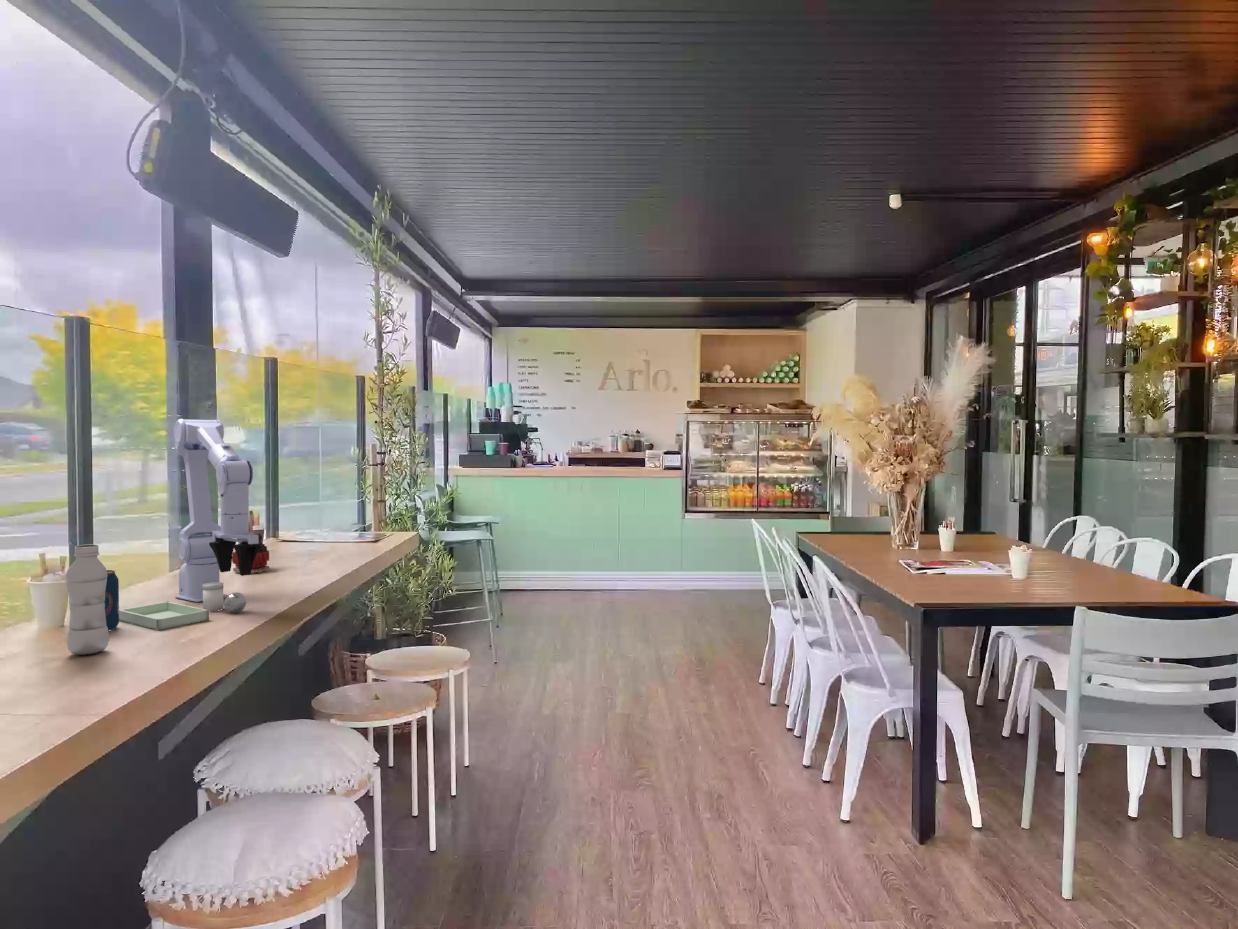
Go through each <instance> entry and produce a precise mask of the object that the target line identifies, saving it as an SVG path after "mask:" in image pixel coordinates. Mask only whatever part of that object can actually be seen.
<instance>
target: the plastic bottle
mask: <svg viewBox="0 0 1238 929" xmlns="http://www.w3.org/2000/svg"><path fill="white" fill-rule="evenodd" d="M99 549H100V548H99V545H98V544H81V545H80V544H79V545H75V546H74V553H73V557H74V558H75V560H74V561H73V562H72V563H71V564H70V566H69V568H68V569H67V571H66V573H65V577H64V578H65V583H66V588H67V593H68V598H69V599H68V603H69V604H68V605H70V606H69V623H68V624H69V625H68V631H67V636H66V646H67V650H68V652H70V653H71V654H73V655H82V656H83V655H85V656H87V655H86V654H88V655H93V654H96V653H100V652H102V651H105V650H106V649H107V648H108V646H109V641H110V631H109V632H108V628H107V626H106V617H105V603H104V601H105V590H106V583H107V570H108V569H107V567H106V566H105V564H103V562H101V561H100V559H99V558H98V556H100V552H99Z"/></svg>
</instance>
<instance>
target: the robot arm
mask: <svg viewBox="0 0 1238 929" xmlns="http://www.w3.org/2000/svg"><path fill="white" fill-rule="evenodd" d="M224 435H225V430H224V424H223V422H222V421H221V420H220V419H216V418H215V419H185V418H179V419H178V420H177V421H176V422H175V425H174V431H173V436H174V447H175V451H176V454H177V455H179V456H181V457H182V458H183V462H184V467H185V477H186V479H185V480H186V489H187V499H188V500H187V501H188V510H189V511H188V512H189V521H190V522H189V524H188V525H186V526H185V527H184V528H182V529H181V530H180V532H179V533H178V544H177V553H178V557H179V559H180V561H182V562H183V564H182V565H181V566H180V568H179V571H178V594H177V595H175V598H176V599H180V600H185V601H190V602H194V603H195V602H196V603H199V602H203V584H205V583H213V582H220V573H227V572H231V571H232V563H233V562H232V556H233V552H235V551H236V554H237V557H238V563H239V572H240V573H239V572H238V573H239V576H240V577H241V576H242V577H244V576H250V575H251V570H252V566H253V563H254V559H255V557H256V555H257V553H258V551H259V549H260V548H261V544H258V543H259V540H258V535H255V534H256V533H254V532H253V533H250V532H249V511H250V508H249V506H250V504H249V503H250V502H249V501H250V500H249V497H250V495H249V486H250V485H251V484H252V482H253V478H254V469H253V465H252V463H251V460H250V459H241V457H240V456H239V454H238V453H237V452H236V450H235V449H234V447H233V446H232V445H230V444H229V443H225V442H224V440H223V439H224ZM207 459H208V460H209V462H210V463H211V465H212V467H213V468H214V469H215V477H216V482H217V486H218V487H217V489H218V490H217V491H218V494H220V525H219V524H217V523H215V522H214V521H213V517H212V516H213V515H212V507H211V495H210V494H211V493H210V486H209V484H210V483H209V476H208V475H209V473H208V463H207ZM241 539H242V540H241ZM238 542H242V544H236V543H238ZM227 596H228V594H225V593H223V598H226V597H227Z"/></svg>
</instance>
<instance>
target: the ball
mask: <svg viewBox="0 0 1238 929" xmlns="http://www.w3.org/2000/svg"><path fill="white" fill-rule="evenodd" d="M246 606H247V598H246V596H245V595H244V594H243V593H240V592H232V593H230V594H227V597H225V599H224V600H223V607H224V608H225V610H227V611H228V612H229V613H231V614H237V613H240V612H243V610H244V609H245V608H246Z"/></svg>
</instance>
